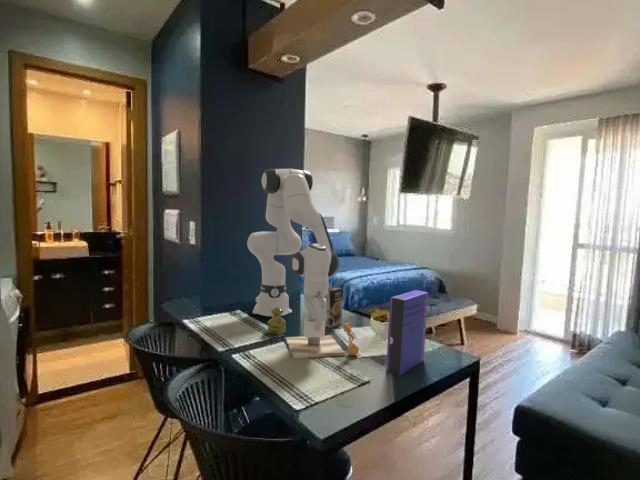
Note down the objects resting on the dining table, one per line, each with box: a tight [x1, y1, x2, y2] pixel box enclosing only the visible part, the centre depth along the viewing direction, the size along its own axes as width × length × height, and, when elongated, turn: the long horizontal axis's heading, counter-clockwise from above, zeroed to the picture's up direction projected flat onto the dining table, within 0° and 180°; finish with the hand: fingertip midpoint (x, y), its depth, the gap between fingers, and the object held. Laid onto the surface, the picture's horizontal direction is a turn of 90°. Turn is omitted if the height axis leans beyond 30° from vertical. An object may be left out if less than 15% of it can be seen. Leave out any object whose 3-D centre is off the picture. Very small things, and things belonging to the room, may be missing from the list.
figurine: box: [342, 321, 360, 356], centre depth 133 cm, size 8×6×12 cm
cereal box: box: [385, 289, 429, 377], centre depth 126 cm, size 17×5×24 cm, turn 141°
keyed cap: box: [303, 317, 326, 338], centre depth 139 cm, size 7×5×6 cm
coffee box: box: [324, 286, 344, 329], centre depth 169 cm, size 9×6×16 cm
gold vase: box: [266, 308, 287, 335], centre depth 155 cm, size 7×7×10 cm
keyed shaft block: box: [284, 335, 346, 359], centre depth 139 cm, size 18×18×9 cm
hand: (314, 326), depth 139 cm, fingers open, 8 cm apart
